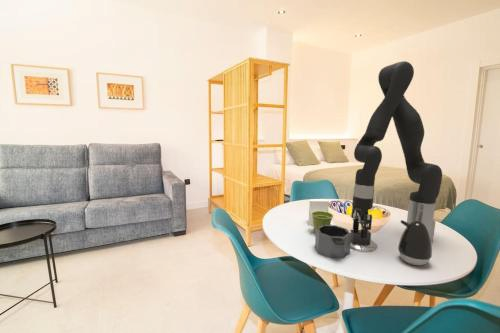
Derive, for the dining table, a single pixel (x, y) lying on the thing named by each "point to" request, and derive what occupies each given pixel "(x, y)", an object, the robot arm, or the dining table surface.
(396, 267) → the dining table surface
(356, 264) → the dining table surface
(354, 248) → the lid
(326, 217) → the plant pot
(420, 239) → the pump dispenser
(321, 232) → the pot
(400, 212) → the dining table surface
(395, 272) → the dining table surface
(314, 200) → the white tall block
